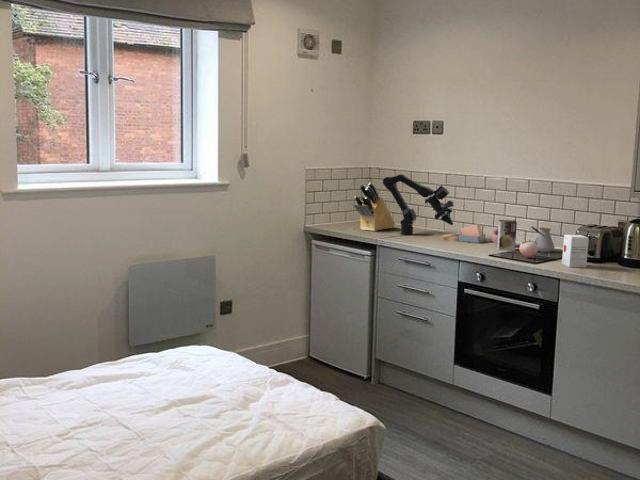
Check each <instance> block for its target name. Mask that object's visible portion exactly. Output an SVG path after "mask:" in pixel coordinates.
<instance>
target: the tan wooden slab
mask: <svg viewBox="0 0 640 480" xmlns="http://www.w3.org/2000/svg"><path fill="white" fill-rule="evenodd" d="M459 235H460V234H454V233H443V234H441V235H439V236H438V240H439V241H440V240H442V241H449V242H451V241H452V242H459Z"/></svg>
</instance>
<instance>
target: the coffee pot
mask: <svg viewBox="0 0 640 480" xmlns="http://www.w3.org/2000/svg"><path fill="white" fill-rule="evenodd" d="M530 228H531V229H530ZM528 230H531V231H532V230H534V231H535V232H537V233H538V234H537V236H536V239H535V240H534V243H535V242H536V243H537V244H536V245H537V246H538V251H540V252H539V253H543V252H549V253H551V252H552V251H554V249H555V244H554V241H553V238H552V235H551V230H552V228H549V227H539V228H538V229H537V228H535V227H533V226H530V227H529V229H528Z"/></svg>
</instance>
